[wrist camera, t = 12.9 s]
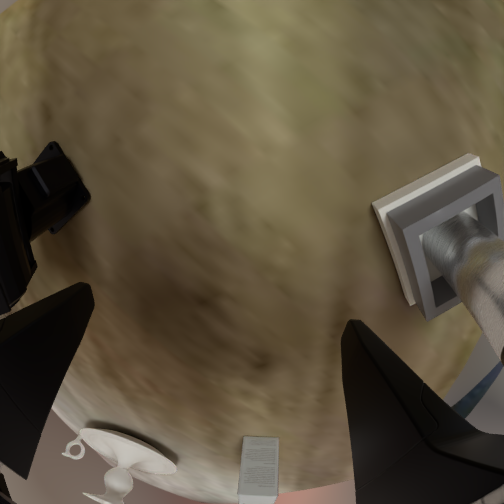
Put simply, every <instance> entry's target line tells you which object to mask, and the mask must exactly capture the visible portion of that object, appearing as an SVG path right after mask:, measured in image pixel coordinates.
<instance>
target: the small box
mask: <svg viewBox="0 0 504 504" xmlns="http://www.w3.org/2000/svg"><path fill="white" fill-rule="evenodd" d="M278 480H279V437H255V436H244V437H243V445H242V455H241V465H240V474H239V483H238V493H237V494H238V504H274V503H275V501H276V499H277V497H278Z"/></svg>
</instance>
